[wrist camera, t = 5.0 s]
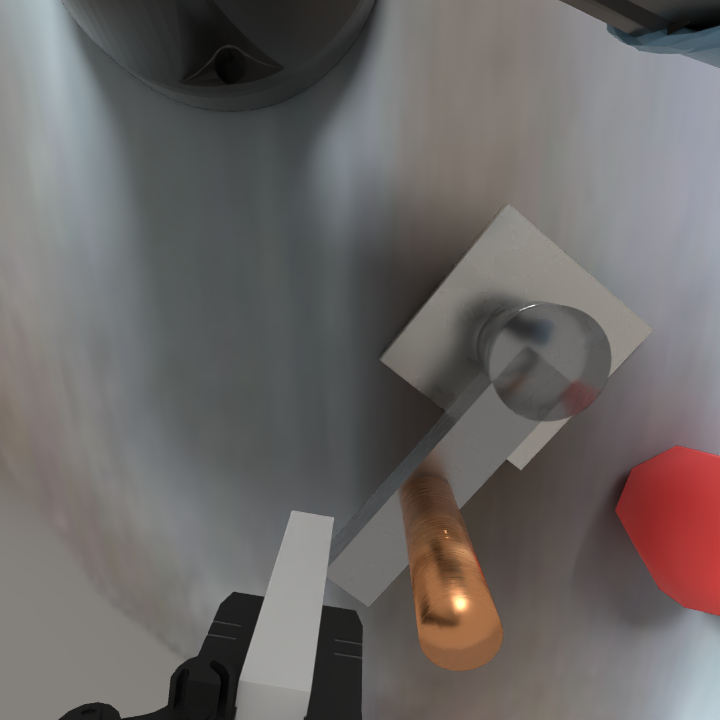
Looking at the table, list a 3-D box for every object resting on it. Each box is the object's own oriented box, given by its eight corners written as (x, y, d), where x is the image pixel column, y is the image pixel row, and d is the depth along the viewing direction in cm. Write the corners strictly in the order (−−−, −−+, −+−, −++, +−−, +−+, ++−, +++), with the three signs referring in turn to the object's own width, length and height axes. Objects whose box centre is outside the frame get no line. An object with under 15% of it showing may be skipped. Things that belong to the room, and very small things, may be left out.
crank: (530, 278, 20) (670, 290, 11) (611, 346, 21) (810, 414, 11) (308, 536, 23) (268, 721, 14) (385, 590, 23) (396, 803, 14)
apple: (664, 401, 25) (801, 464, 17) (767, 481, 26) (942, 576, 18) (567, 506, 26) (651, 609, 18) (667, 578, 27) (789, 706, 19)
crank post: (379, 357, 24) (381, 370, 21) (503, 205, 23) (524, 196, 20) (516, 463, 26) (537, 491, 22) (644, 327, 24) (686, 337, 21)
